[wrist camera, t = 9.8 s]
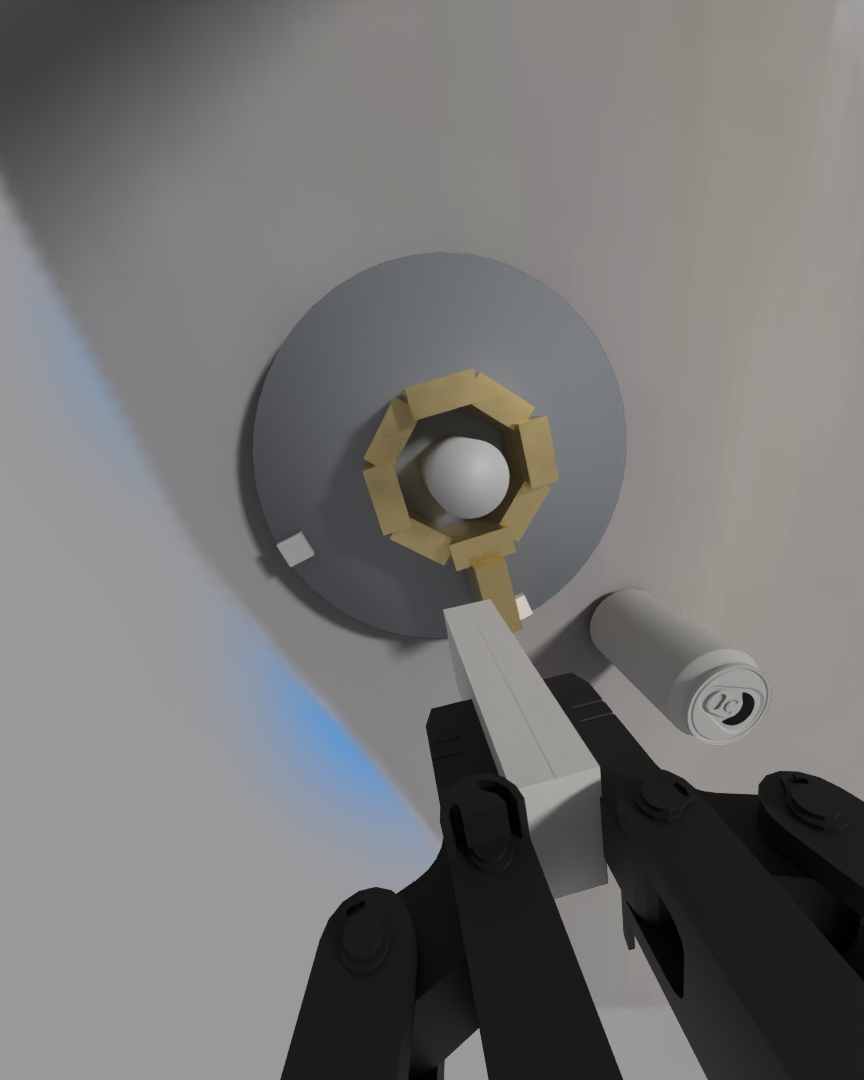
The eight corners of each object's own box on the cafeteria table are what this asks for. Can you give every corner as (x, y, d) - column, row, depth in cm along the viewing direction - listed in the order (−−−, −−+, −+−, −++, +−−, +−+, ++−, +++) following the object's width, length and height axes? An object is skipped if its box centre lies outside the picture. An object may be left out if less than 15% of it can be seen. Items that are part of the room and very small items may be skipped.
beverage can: (628, 661, 38) (739, 763, 27) (571, 636, 37) (663, 734, 25) (666, 601, 37) (799, 682, 26) (610, 573, 36) (724, 645, 24)
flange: (539, 191, 27) (605, 101, 20) (651, 534, 35) (729, 566, 27) (179, 375, 27) (105, 358, 19) (373, 678, 35) (374, 750, 27)
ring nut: (344, 409, 27) (339, 406, 22) (511, 360, 28) (541, 347, 23) (416, 625, 32) (424, 662, 27) (556, 579, 32) (589, 607, 28)
